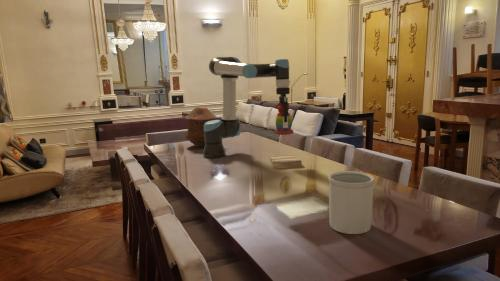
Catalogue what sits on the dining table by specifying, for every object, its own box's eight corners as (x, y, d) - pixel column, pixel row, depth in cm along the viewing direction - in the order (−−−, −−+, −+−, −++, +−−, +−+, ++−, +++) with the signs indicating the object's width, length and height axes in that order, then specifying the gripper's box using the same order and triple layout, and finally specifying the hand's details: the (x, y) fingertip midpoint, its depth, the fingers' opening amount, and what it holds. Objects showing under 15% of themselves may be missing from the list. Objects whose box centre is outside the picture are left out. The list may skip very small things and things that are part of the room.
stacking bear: (293, 131, 213) (292, 101, 209) (293, 134, 203) (292, 103, 199) (274, 132, 214) (273, 102, 210) (274, 135, 204) (273, 103, 201)
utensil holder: (364, 216, 131) (365, 169, 128) (380, 234, 116) (381, 181, 113) (324, 218, 130) (323, 171, 127) (335, 236, 116) (334, 184, 113)
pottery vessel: (183, 144, 287) (180, 107, 281) (215, 141, 294) (212, 105, 289) (188, 150, 262) (185, 109, 257) (222, 147, 270) (220, 107, 264)
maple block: (269, 162, 219) (269, 156, 218) (295, 160, 220) (295, 154, 219) (273, 169, 203) (273, 162, 202) (301, 167, 204) (301, 160, 203)
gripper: (293, 87, 193) (294, 128, 197) (286, 86, 214) (287, 123, 218) (279, 88, 192) (280, 129, 196) (273, 86, 214) (274, 124, 218)
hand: (284, 126), depth 207 cm, fingers closed on stacking bear, 9 cm apart
